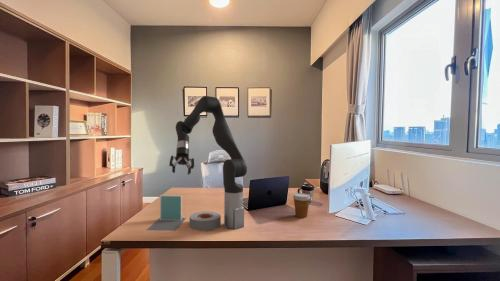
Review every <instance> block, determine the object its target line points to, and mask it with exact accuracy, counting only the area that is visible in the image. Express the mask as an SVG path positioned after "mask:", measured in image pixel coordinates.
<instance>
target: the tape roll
mask: <svg viewBox="0 0 500 281" xmlns="http://www.w3.org/2000/svg"><path fill="white" fill-rule="evenodd" d="M221 218H222V216H221V214H220V213H218V212H216V211H200V212H199V211H198V212H194V213H191V214H190V215H189V226H188V227H189V228H190V229H192V230H196V231H205V232H208V231H214V230H217V229H219V228H221V225H222V222H221V221H222V220H221Z"/></svg>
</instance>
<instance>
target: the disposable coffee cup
mask: <svg viewBox="0 0 500 281" xmlns="http://www.w3.org/2000/svg"><path fill="white" fill-rule="evenodd" d="M292 198H293V203H294V205H293V206H294V211H295V212H294V213H295V217H296V218H299V217H300V219H303V218H308V212H309V206H310V205H309V204H310V199H311V197H310V194H309V193H304V192H303V193H301V192H296V193H294V194H293V196H292Z"/></svg>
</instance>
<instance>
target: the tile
mask: <svg viewBox="0 0 500 281" xmlns="http://www.w3.org/2000/svg"><path fill="white" fill-rule="evenodd" d="M159 198H160V199H159V200H160V202H159V204H160V205H159V206H160V207H159V212H160V213H159V216H160V217H159V218H160V220H182V218H183V194H160V196H159Z"/></svg>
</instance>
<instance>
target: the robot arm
mask: <svg viewBox="0 0 500 281" xmlns="http://www.w3.org/2000/svg"><path fill="white" fill-rule="evenodd" d="M202 113H209V114H212V116H213V117H214V122H213V127H212V135H213V137H214V140H215V143H216V144H217V145H218V146H219V147H220V148H221V149H222V150H223V151H225V153H226V154H227V155H228V156H229V157H230V158H229V159H226V160H224V162H223V165H222V178H223V182H222V183H223V184H222V185H223V189H224V192H223V193H224V199H223V200H224V202H223V205H224V206H223V207H224V208H223V209H224V211H223V213H224V214H223V215H224V217H223V218H224V220H223V222H224V224H223V225H224V228H227V229H233V230H237V229H240V228H243V227H245V207H244V186H243V185H242V184H240V183H237V182H236V178H242V177H245V176H246V175H247V173H248V168H247V167H248V166H247V163H246V160H245V158H244V157H243V155H242V153H241V152H240V150H239V148H238V146H237V144H236V142H235V139H234V137H233V134H232V132H231V130H230V127H229V124H228V123H227V120H226V117H225V115H224V111H223V108H222V104H221V102H220V99H219V98H217V97H216V96H215V97H214V96H209V95H203V96H201V97H200V99H199V100H198V101H197V103H196V104H195V106H194V108H193V110H192V111H191V112H190V113H189V114H188V116H187V117H186V118H184V121H182V120H179V121H177V122H176V124H175V131H176V135H177V143H176V149H175V150H176V152H175V156H174V155H173V154H172V155H171V156H170V158H169V167H172V168H171V172H172V174H175V173H176V166H177V165H181V166H185V167H186V168H187V175H188V176H189V175H191V173H192V170H193V169H194V168H195V158H194V157H193V158H190V134H191V133H192V131H193V129H194V127H195V126H197V124H198V123H199V122H200V120H201V114H202ZM174 160H175V162H174V163H173V161H174Z"/></svg>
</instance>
